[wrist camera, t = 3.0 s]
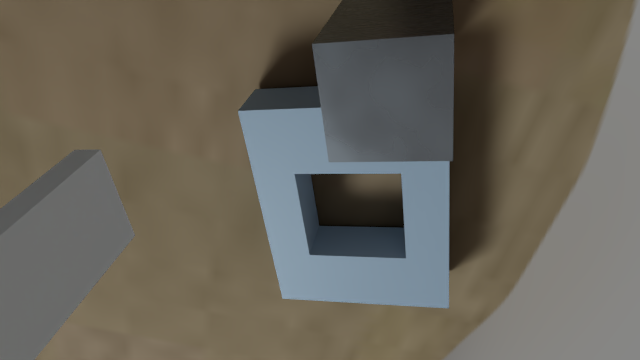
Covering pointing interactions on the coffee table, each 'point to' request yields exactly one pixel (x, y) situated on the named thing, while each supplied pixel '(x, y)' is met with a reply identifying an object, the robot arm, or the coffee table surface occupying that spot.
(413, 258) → the bore block
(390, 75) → the square bit
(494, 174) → the coffee table surface
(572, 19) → the coffee table surface
